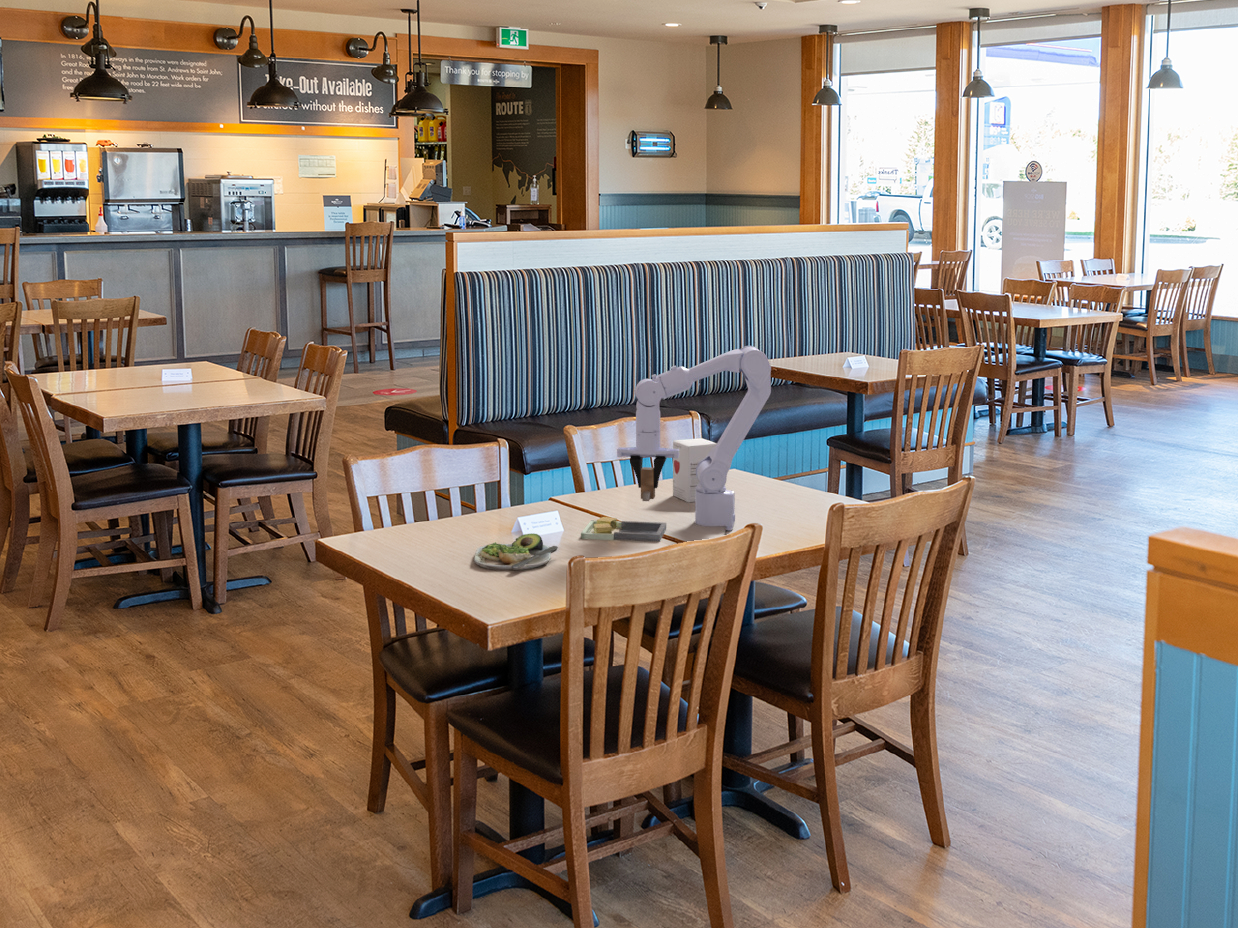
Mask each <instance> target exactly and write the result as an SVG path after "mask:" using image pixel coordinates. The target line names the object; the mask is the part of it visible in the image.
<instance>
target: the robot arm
mask: <svg viewBox="0 0 1238 928" xmlns="http://www.w3.org/2000/svg"><path fill="white" fill-rule="evenodd" d="M724 371H725V372H726V371H727V372H732V373H740V372H741V373H742V375H743V377H744V380H745V383H746V384H745V385H746V386H747V391H746V392H745V395H744V396H743V399H742V400H741V402H740V403H739V406H737V408H736V411H735V412H734V414H733V415H732V418H731V419H730V421H729V422H728V424H727V426H726V428H725V429H724V431H723V432H722V434H721V436H720V438H719V439H718V440H717V442H716V443H717V444H716V446H715V447H714V448H713V449H712V450H711V451H710V452H709V454H708V456H707V457H706V458H705V459H703V460H702V461H700V462H699V463H698V465H697V467H696V476H697V478H698V480H699V481H700V482H699V484H698V485H697V486H696V498H695V502H694V503H695V505H694V506H695V507H694V508H695V511H694V512H695V515H694V520H695V521H694V523H695V524H697V525H699V526H704V527H725V531H732V530H733V529H734V528H733V527H734V525H735V522H736V514H735V511H736V510H735V509H736V508H735V502H736V501H735V500H736V498H735V497H736V496H735V495H736V493H735V491H734V490H729V489H727V487H726V483H727V477H728V472H729V471H730V469H731V466H732V462H733V459H734V457H735V456H736V453H737V452H738V450H739V448H740V447H741V445H742V443H743V442H744V440H745V438H746V436H747V435H748V433H749V431H750V430H751V428H752V426H753V424H754V423H755V421H756V420H757V418H758V416H759V415H760V413H761V411H762V410H763V408H764V406H765V404H766V402H767V400H769V398H770V396H771V394H772V385H771V384H772V381H771V380H772V378H771V376H772V375H771V371H772V366H771V363H770V361H769V358H768V357H767V355H766V354H765V353H764V351H761V350H759V348H757V347H756V346H753V345H746V346H743V347H741V348H740V349H739V348H736V349H733V350H729V351H727V352H724V353H721V354H719V355H718V356H715V357H713V358H711V359H708V360H706V361H704V362H701V363H699V364H697V365H695V366H692V367H690V368H686V367H684V366H676V365H673V366H671V367H670V369H669V370H667V371H664V372H662V373H660V374H658V375H657V374H656V373H655V374H652V375H651V378H652V379H651V378H643V379H641V380H640V381H639V382H638V383H637V384H636V386H635V389H634V395H635V397H636V399H637V401H636V411H635V441H636V442H635V443H636V444H635V446H634V447H633V446H630V447H628V446H627V447H617V450H616V452H617V453H616V457H617V458H622V457H627V458H628V457H629V463H630V465H631V466H632V469H633V472H634V474H635V477H636V481H637V485H638V489H639V488H640V489H641V469H642V468H643V464H644V463H643V459H644V458H654V459H653V468H654V488H655V489H658V487H659V480H660V476H661V472H662V470H663V468H664V465H665V463H666V460H667V459H673V458H674V459H678V458H679V449H673V448H669V447H668V448H667V447H661V410H660V402H661V401H662V399H665V400H666V399H667V398H671V397H673V396H676V395H677V394H681V393H683V392H685V391H688V390H690V389H691V388H692V385H693V384H694V382H697V381H699V380H702V379H704V378H707V377H711V376H714V375H717V374H719V373H722V372H724Z"/></svg>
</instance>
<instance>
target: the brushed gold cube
mask: <svg viewBox="0 0 1238 928" xmlns="http://www.w3.org/2000/svg"><path fill="white" fill-rule="evenodd" d="M596 521H597V524H604V523H609V524H610V526H611V527H612V532H613V531H614V530H617V527H616V521H617V518H616V517H609V516H601V517H600V518H598V519H597V520H596Z"/></svg>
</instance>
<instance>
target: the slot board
mask: <svg viewBox="0 0 1238 928" xmlns="http://www.w3.org/2000/svg"><path fill="white" fill-rule="evenodd" d="M620 522H621V528H620V530H619V531H614V532H613V534H614V540H613V541H616V540H617V541H635V542H636V541H637V542H638V541H642V542H661V540H662V538H663V536H664V535H665V532H666V531H667V522H659V521H657V522H654V521H637V520H636V521H631V520H622V521H620Z"/></svg>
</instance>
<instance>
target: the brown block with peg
mask: <svg viewBox="0 0 1238 928" xmlns="http://www.w3.org/2000/svg"><path fill="white" fill-rule="evenodd" d="M655 497H656V488H654V467H651V466H650V467H648V466H647V467H646V466H645V467H644V466H642V469H641V488H640V500H642V502H650V500H654V499H655Z"/></svg>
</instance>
